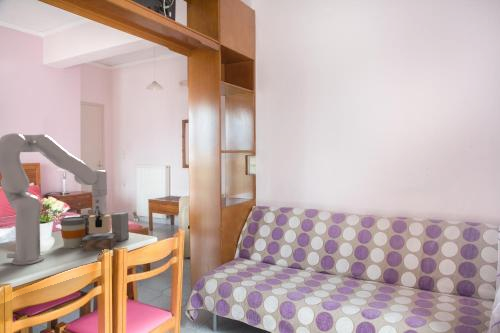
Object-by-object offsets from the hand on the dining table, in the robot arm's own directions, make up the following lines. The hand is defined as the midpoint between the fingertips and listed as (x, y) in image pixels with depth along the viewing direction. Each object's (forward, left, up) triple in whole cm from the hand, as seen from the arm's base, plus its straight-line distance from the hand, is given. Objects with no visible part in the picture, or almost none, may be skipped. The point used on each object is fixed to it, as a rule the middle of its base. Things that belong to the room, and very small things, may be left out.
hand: (99, 225), depth 182 cm
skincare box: (+8, +15, -12) cm, 21 cm away
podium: (0, 0, -12) cm, 12 cm away
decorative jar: (-8, +18, -12) cm, 23 cm away
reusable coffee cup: (-15, +6, -12) cm, 20 cm away
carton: (0, 0, -4) cm, 4 cm away
